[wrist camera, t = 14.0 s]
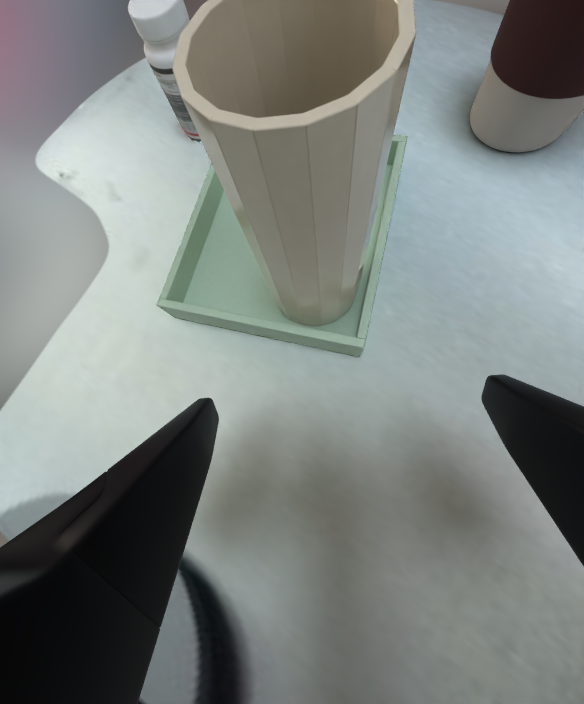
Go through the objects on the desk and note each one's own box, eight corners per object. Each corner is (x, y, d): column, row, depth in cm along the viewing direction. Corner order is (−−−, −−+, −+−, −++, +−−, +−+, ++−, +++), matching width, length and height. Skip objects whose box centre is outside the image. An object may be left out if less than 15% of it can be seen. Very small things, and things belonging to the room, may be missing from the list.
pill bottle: (218, 98, 28) (173, -33, 20) (234, 127, 26) (193, -1, 18) (177, 118, 28) (116, -4, 20) (191, 148, 26) (131, 30, 18)
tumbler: (371, 308, 19) (465, 58, 6) (289, 338, 20) (203, 166, 6) (338, 238, 21) (354, -74, 8) (263, 267, 22) (154, 14, 8)
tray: (359, 357, 19) (364, 348, 17) (174, 317, 22) (156, 305, 20) (399, 165, 23) (407, 135, 20) (235, 152, 26) (225, 124, 23)
